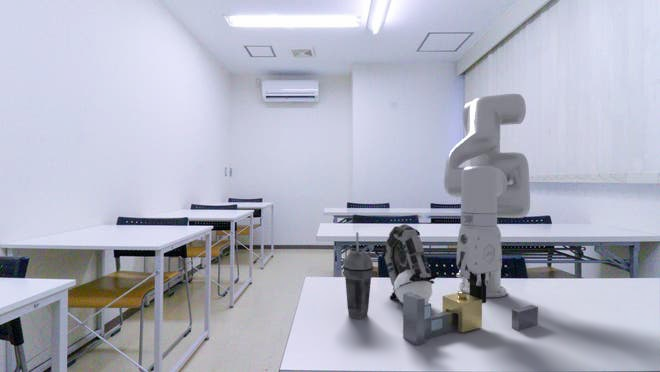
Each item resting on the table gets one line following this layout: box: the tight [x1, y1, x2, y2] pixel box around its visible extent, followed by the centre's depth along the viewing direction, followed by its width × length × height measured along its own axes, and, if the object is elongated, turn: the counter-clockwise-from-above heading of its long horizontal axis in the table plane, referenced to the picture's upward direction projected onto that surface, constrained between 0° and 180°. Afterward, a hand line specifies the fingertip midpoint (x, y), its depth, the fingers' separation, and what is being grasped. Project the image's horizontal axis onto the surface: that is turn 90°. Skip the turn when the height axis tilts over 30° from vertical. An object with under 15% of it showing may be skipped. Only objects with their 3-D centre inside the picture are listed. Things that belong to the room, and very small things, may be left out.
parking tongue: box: [511, 304, 539, 332], centre depth 75 cm, size 2×7×4 cm, turn 118°
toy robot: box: [381, 223, 439, 304], centre depth 90 cm, size 18×10×22 cm
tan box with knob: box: [441, 290, 483, 333], centre depth 74 cm, size 6×6×7 cm
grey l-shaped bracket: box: [402, 292, 459, 347], centre depth 72 cm, size 4×19×9 cm, turn 118°
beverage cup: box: [342, 231, 374, 320], centre depth 80 cm, size 7×7×20 cm
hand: (477, 301), depth 76 cm, fingers closed
